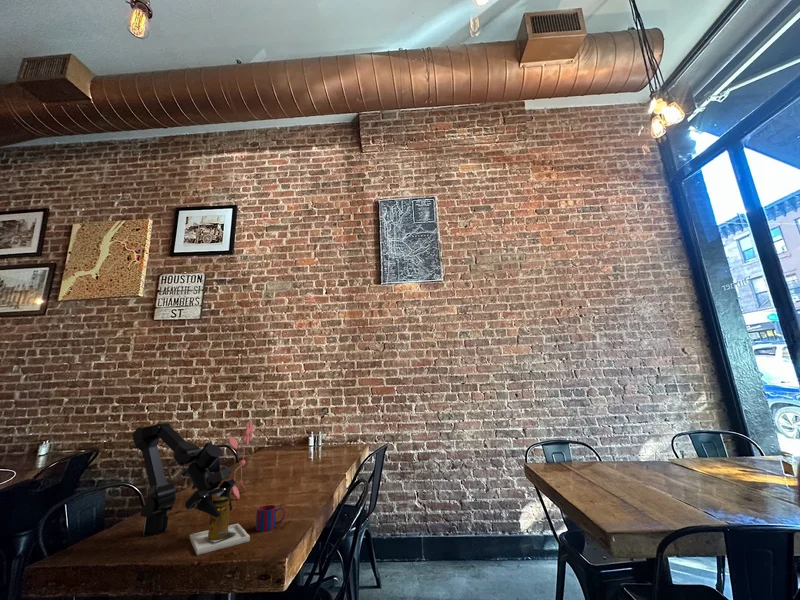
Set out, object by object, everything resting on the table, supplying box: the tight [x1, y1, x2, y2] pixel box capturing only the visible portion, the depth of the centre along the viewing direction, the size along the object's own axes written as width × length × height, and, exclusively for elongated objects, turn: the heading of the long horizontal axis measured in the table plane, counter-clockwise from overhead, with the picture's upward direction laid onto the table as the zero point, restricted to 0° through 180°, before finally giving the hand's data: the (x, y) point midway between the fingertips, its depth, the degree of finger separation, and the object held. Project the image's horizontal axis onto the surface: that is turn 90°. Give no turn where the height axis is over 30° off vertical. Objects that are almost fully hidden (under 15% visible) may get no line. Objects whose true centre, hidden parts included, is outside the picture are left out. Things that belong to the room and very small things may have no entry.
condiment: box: [204, 496, 237, 542], centre depth 124 cm, size 7×8×12 cm
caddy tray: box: [189, 523, 251, 556], centre depth 121 cm, size 16×16×2 cm
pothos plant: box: [228, 419, 263, 500], centre depth 176 cm, size 15×26×35 cm, turn 4°
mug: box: [255, 504, 286, 533], centre depth 132 cm, size 7×10×7 cm
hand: (224, 513), depth 123 cm, fingers open, 6 cm apart
